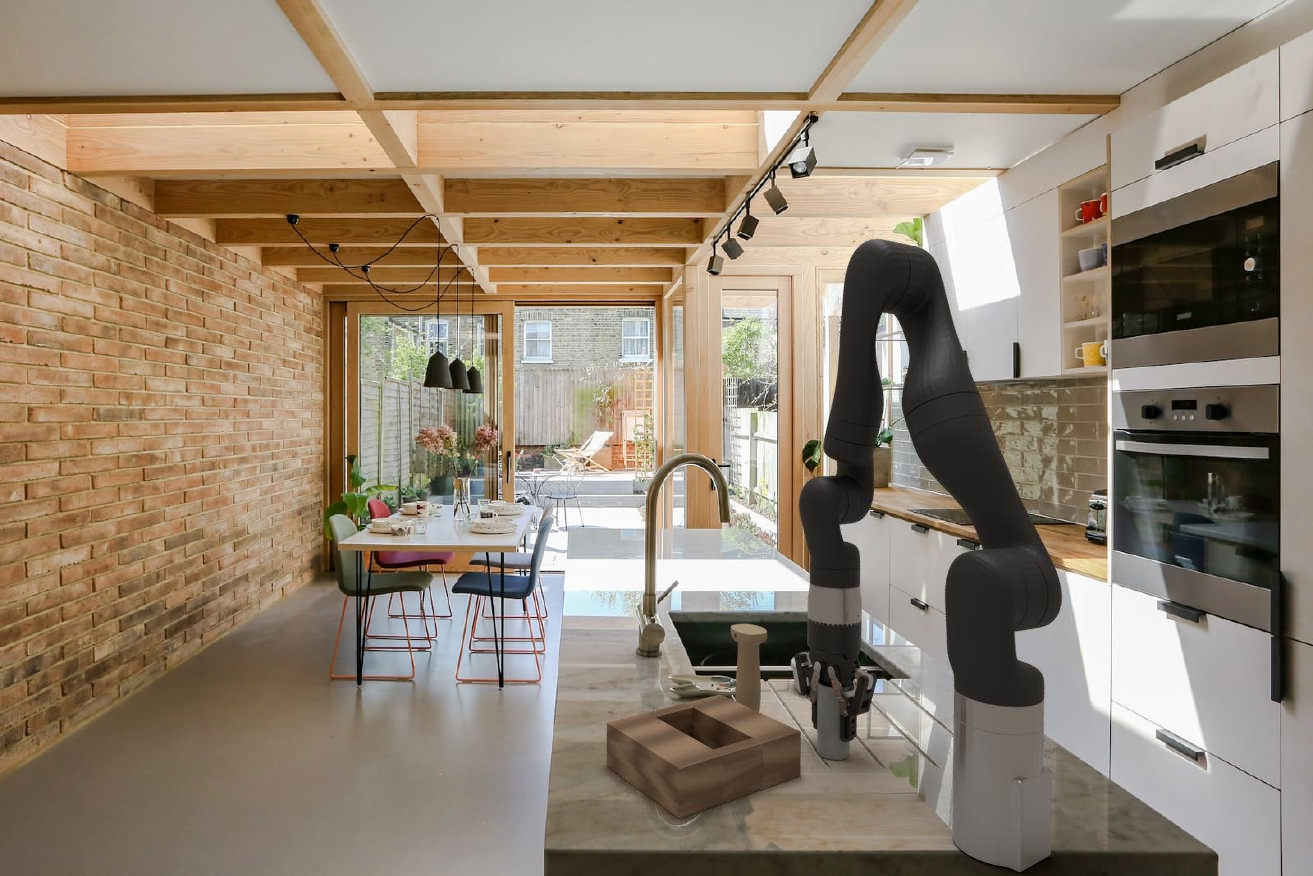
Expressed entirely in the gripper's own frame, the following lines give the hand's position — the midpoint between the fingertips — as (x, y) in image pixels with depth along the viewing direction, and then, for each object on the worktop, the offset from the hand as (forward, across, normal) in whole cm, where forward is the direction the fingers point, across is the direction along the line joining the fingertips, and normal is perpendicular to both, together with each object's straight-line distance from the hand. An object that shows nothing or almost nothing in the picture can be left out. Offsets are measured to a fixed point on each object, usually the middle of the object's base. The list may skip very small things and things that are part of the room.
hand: (833, 733), depth 110 cm
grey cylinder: (+3, 0, 0) cm, 3 cm away
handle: (+3, +15, +3) cm, 16 cm away
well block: (+3, +6, +19) cm, 20 cm away
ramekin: (+3, +19, -18) cm, 26 cm away
